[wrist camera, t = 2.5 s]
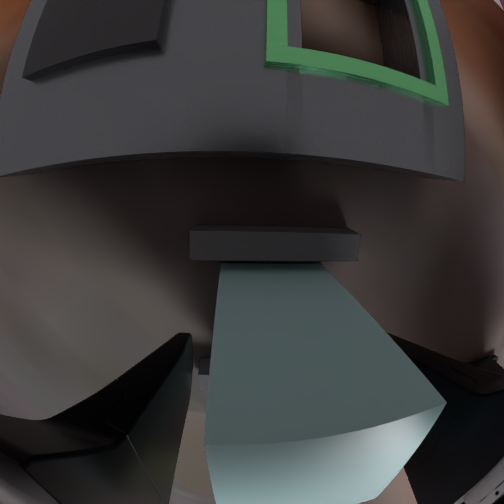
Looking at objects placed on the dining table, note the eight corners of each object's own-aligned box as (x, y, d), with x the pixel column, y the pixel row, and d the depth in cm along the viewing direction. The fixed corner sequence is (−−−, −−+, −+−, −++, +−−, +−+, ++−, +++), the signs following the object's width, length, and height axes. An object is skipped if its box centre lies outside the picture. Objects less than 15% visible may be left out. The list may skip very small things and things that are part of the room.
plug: (310, 346, 12) (375, 498, 4) (222, 349, 12) (220, 521, 4) (321, 263, 11) (447, 402, 3) (220, 263, 11) (204, 444, 3)
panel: (427, 178, 10) (475, 183, 7) (28, 174, 9) (-17, 178, 6) (401, -19, 7) (428, -43, 4) (73, -25, 6) (51, -50, 3)
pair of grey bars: (325, 369, 12) (332, 385, 11) (201, 374, 12) (199, 391, 11) (347, 228, 11) (360, 234, 9) (194, 224, 10) (189, 231, 9)
